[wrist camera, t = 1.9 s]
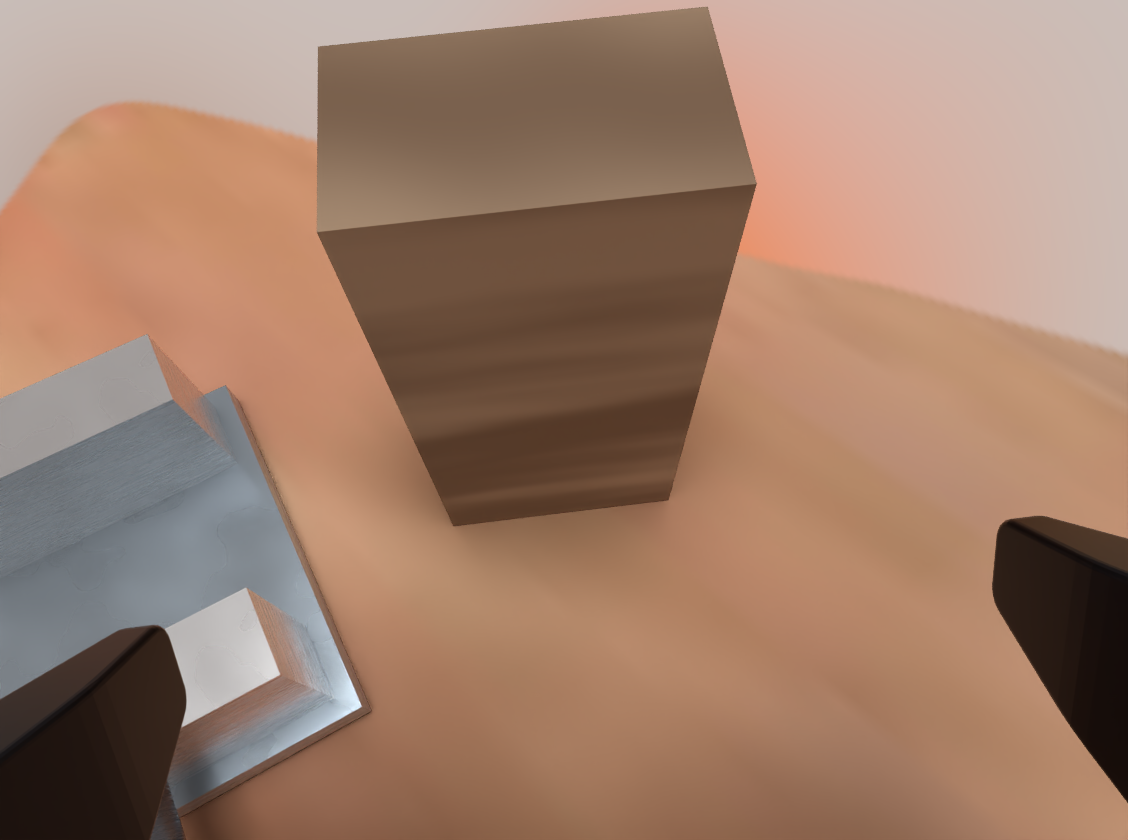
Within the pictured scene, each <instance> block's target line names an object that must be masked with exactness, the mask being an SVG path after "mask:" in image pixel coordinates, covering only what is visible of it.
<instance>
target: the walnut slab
mask: <svg viewBox="0 0 1128 840" xmlns="http://www.w3.org/2000/svg"><path fill="white" fill-rule="evenodd" d="M756 184H757V183H756V180H755V176H754V173H753V169H752V165H751V162H750V158H749V155H748V151H747V147H746V144H745V140H744V137H743V133H742V129H741V126H740V122H739V118H738V115H737V111H736V107H735V105H734V100H733V97H732V93H731V90H730V86H729V82H728V78H727V75H726V71H725V68H724V64H723V60H722V57H721V53H720V50H719V46H718V42H717V39H716V35H715V32H714V28H713V24H712V21H711V17H710V14H709V10H708V7H701V8H700V7H699V8H691V9H681V10H670V11H661V12H651V13H642V14H631V15H622V16H612V17H603V18H592V19H584V20H573V21H563V22H554V23H544V24H534V25H524V26H515V27H505V28H495V29H485V30H476V31H466V32H457V33H447V34H438V35H428V36H418V37H409V38H399V39H389V40H378V41H369V42H359V43H349V44H340V45H330V46H320V47H318V134H317V233H318V236H319V238H320V240H321V242H322V244H323V246H324V249H325V251H326V253H327V255H328V257H329V259H330V261H331V264H332V266H333V268H334V270H335V272H336V274H337V276H338V279H339V281H340V283H341V285H342V287H343V289H344V292H345V294H346V296H347V298H348V300H349V302H350V304H351V307H352V309H353V311H354V313H355V315H356V317H357V319H358V322H359V324H360V326H361V328H362V330H363V332H364V334H365V337H366V339H367V341H368V343H369V345H370V347H371V350H372V352H373V354H374V356H375V358H376V360H377V362H378V365H379V367H380V369H381V371H382V373H383V375H384V377H385V380H386V382H387V384H388V386H389V388H390V390H391V393H392V395H393V397H394V399H395V401H396V403H397V405H398V408H399V410H400V412H401V414H402V416H403V418H404V420H405V423H406V425H407V427H408V429H409V431H410V433H411V435H412V438H413V440H414V442H415V444H416V446H417V448H418V451H419V453H420V455H421V457H422V459H423V461H424V463H425V466H426V468H427V470H428V472H429V474H430V476H431V478H432V481H433V483H434V485H435V487H436V489H437V491H438V494H439V496H440V498H441V500H442V502H443V504H444V506H445V509H446V511H447V513H448V515H449V517H450V519H451V521H452V524H453V526H458V525H466V524H474V523H482V522H491V521H499V520H507V519H515V518H524V517H532V516H540V515H548V514H557V513H565V512H573V511H581V510H590V509H598V508H606V507H614V506H623V505H631V504H639V503H647V502H655V501H664V500H668V499H669V496H670V492H671V488H672V485H673V481H674V478H675V474H676V471H677V467H678V463H679V460H680V456H681V453H682V449H683V446H684V442H685V438H686V435H687V431H688V428H689V424H690V421H691V417H692V413H693V410H694V406H695V403H696V399H697V395H698V392H699V388H700V385H701V381H702V378H703V374H704V370H705V367H706V363H707V360H708V356H709V353H710V349H711V345H712V342H713V338H714V335H715V331H716V328H717V324H718V320H719V317H720V313H721V310H722V306H723V302H724V299H725V295H726V292H727V288H728V285H729V281H730V277H731V274H732V270H733V267H734V263H735V260H736V256H737V252H738V249H739V245H740V242H741V238H742V235H743V231H744V227H745V223H746V220H747V217H748V213H749V209H750V206H751V202H752V199H753V195H754V191H755V188H756Z"/></svg>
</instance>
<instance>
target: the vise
mask: <svg viewBox="0 0 1128 840" xmlns="http://www.w3.org/2000/svg"><path fill="white" fill-rule="evenodd" d="M147 625H159V626H161V627H162V628H164V629H165V630H166V632H167V633H168V635H169V638H170V640H171V644H172V647H173V650H174V653H175V656H176V660H177V663H178V666H179V669H180V672H181V676H182V679H183V682H184V685H185V689H186V696H187V704H186V712H185V716H184V720H183V723H182V727H181V731H180V734H179V738H178V742H177V745H176V749H175V753H174V756H173V760H172V764H171V767H170V771H169V774H168V778H167V782H166V785H165V789H164V793H163V796H162V800H161V804H160V807H159V811H158V815H157V818H156V822H155V825H154V829H153V832H152V835H151V838H150V840H186V838H185V834H184V831H183V828H182V825H181V822H180V819H179V818H180V817H182V816H183V815H185V814H187V813H189V812H191V811H192V810H194V809H196V808H198V807H200V806H201V805H203V804H205V803H207V802H209V801H210V800H212V799H214V798H216V797H218V796H219V795H221V794H223V793H225V792H227V791H228V790H230V789H232V788H234V787H236V786H237V785H239V784H241V783H243V782H245V781H246V780H248V779H250V778H252V777H254V776H255V775H257V774H259V773H261V772H263V771H264V770H266V769H268V768H270V767H272V766H273V765H275V764H277V763H279V762H281V761H282V760H284V759H286V758H288V757H290V756H291V755H293V754H295V753H297V752H299V751H300V750H302V749H304V748H306V747H308V746H309V745H311V744H313V743H315V742H317V741H318V740H320V739H322V738H324V737H326V736H327V735H329V734H331V733H333V732H335V731H336V730H338V729H340V728H342V727H344V726H345V725H347V724H349V723H351V722H353V721H354V720H356V719H358V718H360V717H361V716H363V715H365V714H367V713H369V712H370V711H371V709H370V706H369V704H368V702H367V699H366V697H365V695H364V692H363V690H362V688H361V685H360V683H359V681H358V678H357V676H356V673H355V671H354V669H353V666H352V664H351V662H350V659H349V657H348V655H347V652H346V650H345V648H344V645H343V643H342V641H341V638H340V636H339V634H338V631H337V629H336V627H335V624H334V622H333V620H332V617H331V615H330V613H329V610H328V608H327V606H326V603H325V601H324V599H323V596H322V594H321V592H320V589H319V587H318V585H317V582H316V580H315V578H314V575H313V573H312V571H311V568H310V566H309V564H308V561H307V559H306V557H305V554H304V552H303V550H302V547H301V545H300V543H299V540H298V538H297V536H296V533H295V531H294V529H293V526H292V524H291V522H290V519H289V517H288V515H287V512H286V510H285V508H284V505H283V503H282V501H281V498H280V496H279V494H278V491H277V489H276V487H275V484H274V482H273V480H272V477H271V475H270V473H269V470H268V468H267V466H266V463H265V461H264V459H263V456H262V454H261V452H260V449H259V447H258V445H257V442H256V440H255V438H254V435H253V433H252V431H251V428H250V426H249V424H248V421H247V419H246V417H245V414H244V412H243V410H242V407H241V405H240V403H239V400H238V399H237V398H236V397H235V396H234V395H233V393H232V392H231V391H230V390H229V389H228V388H227V386H226V385H225V386H223V387H221V388H218V389H216V390H214V391H212V392H210V393H208V394H205V395H203V394H202V393H201V392H200V390H199V389H198V388H197V387H196V386H195V385H194V384H193V383H192V382H191V381H190V380H189V379H188V378H187V376H186V375H185V374H184V373H183V372H182V371H181V370H180V369H179V368H178V367H177V366H176V365H175V363H174V362H173V361H172V360H171V359H170V358H169V357H168V356H167V355H166V354H165V353H164V352H163V351H162V349H161V348H160V347H159V346H158V345H157V344H156V343H155V342H154V341H153V340H152V339H151V338H150V336H149V335H148V334H146V335H144V336H142V337H139V338H137V339H135V340H133V341H130V342H128V343H126V344H123V345H121V346H119V347H117V348H114V349H112V350H110V351H108V352H105V353H103V354H101V355H98V356H96V357H94V358H92V359H89V360H87V361H85V362H83V363H80V364H78V365H76V366H73V367H71V368H69V369H67V370H64V371H62V372H60V373H58V374H55V375H53V376H51V377H48V378H46V379H44V380H42V381H39V382H37V383H35V384H33V385H30V386H28V387H26V388H23V389H21V390H19V391H17V392H14V393H12V394H10V395H8V396H5V397H3V398H1V399H0V699H1V698H3V697H5V696H6V695H8V694H10V693H12V692H13V691H15V690H17V689H18V688H20V687H22V686H24V685H25V684H27V683H29V682H30V681H32V680H34V679H35V678H37V677H39V676H41V675H42V674H44V673H46V672H47V671H49V670H51V669H53V668H54V667H56V666H58V665H59V664H61V663H63V662H65V661H66V660H68V659H70V658H71V657H73V656H75V655H77V654H78V653H80V652H82V651H83V650H85V649H87V648H89V647H90V646H92V645H94V644H95V643H97V642H99V641H101V640H102V639H104V638H106V637H107V636H109V635H111V634H112V633H114V632H116V631H118V630H120V629H124V628H131V627H139V626H147Z"/></svg>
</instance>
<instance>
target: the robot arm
mask: <svg viewBox="0 0 1128 840" xmlns="http://www.w3.org/2000/svg"><path fill="white" fill-rule="evenodd" d="M992 590H993V597H994V601H995V604H996V606H997V608H998V610H999V612H1000V614H1001V615H1002V617H1003V619H1004V620H1005V622H1006V624H1007V625H1008V627H1009V629H1010V630H1011V632H1012V633H1013V635H1014V637H1015V638H1016V640H1017V642H1018V643H1019V645H1020V647H1021V648H1022V650H1023V651H1024V653H1025V655H1026V656H1027V658H1028V660H1029V661H1030V663H1031V664H1032V666H1033V668H1034V669H1035V671H1036V673H1037V674H1038V676H1039V678H1040V679H1041V681H1042V682H1043V684H1044V686H1045V687H1046V689H1047V691H1048V692H1049V694H1050V696H1051V697H1052V699H1053V700H1054V702H1055V704H1056V705H1057V707H1058V708H1059V710H1060V711H1061V713H1062V715H1063V716H1064V718H1065V719H1066V721H1067V722H1068V724H1069V725H1070V727H1071V728H1072V729H1073V731H1074V732H1075V734H1076V735H1077V736H1078V738H1079V739H1080V740H1081V742H1082V743H1083V745H1084V746H1085V747H1086V749H1087V750H1088V751H1089V753H1090V754H1091V755H1092V757H1093V758H1094V759H1095V761H1096V762H1097V763H1098V764H1099V766H1100V767H1101V768H1102V770H1103V771H1104V772H1105V774H1106V775H1107V776H1108V778H1109V779H1110V780H1111V782H1112V783H1113V784H1114V785H1115V787H1116V788H1117V789H1118V791H1119V792H1120V793H1121V795H1122V796H1123V797H1124V799H1125V800H1126V801H1127V803H1128V539H1127V538H1123V537H1120V536H1116V535H1112V534H1108V533H1105V532H1101V531H1097V530H1094V529H1090V528H1086V527H1083V526H1079V525H1075V524H1072V523H1068V522H1064V521H1060V520H1057V519H1053V518H1049V517H1045V516H1031V517H1023V518H1015V519H1009V520H1006V521H1005V522H1003V523H1002V524H1001V525H1000V527H999V529H998V533H997V539H996V550H995V561H994V571H993V582H992ZM186 704H187V696H186V689H185V685H184V682H183V679H182V676H181V672H180V669H179V666H178V663H177V660H176V656H175V653H174V650H173V647H172V644H171V640H170V638H169V635H168V633H167V632H166V630H165V629H164V628H162V627H161V626H159V625H147V626H139V627H131V628H124V629H120V630H118V631H116V632H114V633H112V634H111V635H109V636H107V637H106V638H104V639H102V640H101V641H99V642H97V643H95V644H94V645H92V646H90V647H89V648H87V649H85V650H83V651H82V652H80V653H78V654H77V655H75V656H73V657H71V658H70V659H68V660H66V661H65V662H63V663H61V664H59V665H58V666H56V667H54V668H53V669H51V670H49V671H47V672H46V673H44V674H42V675H41V676H39V677H37V678H35V679H34V680H32V681H30V682H29V683H27V684H25V685H24V686H22V687H20V688H18V689H17V690H15V691H13V692H12V693H10V694H8V695H6V696H5V697H3V698H1V699H0V840H150V838H151V835H152V832H153V829H154V825H155V822H156V818H157V815H158V811H159V807H160V804H161V800H162V796H163V793H164V789H165V785H166V782H167V778H168V774H169V771H170V767H171V764H172V760H173V756H174V753H175V749H176V745H177V742H178V738H179V734H180V731H181V727H182V723H183V720H184V716H185V712H186Z"/></svg>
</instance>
